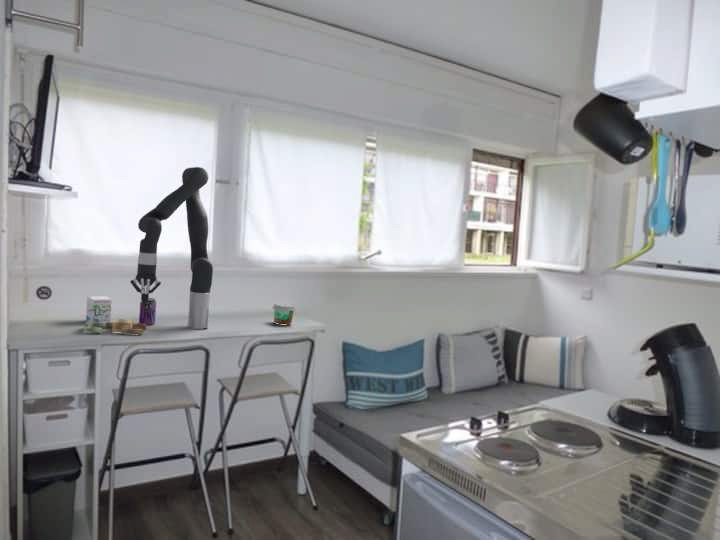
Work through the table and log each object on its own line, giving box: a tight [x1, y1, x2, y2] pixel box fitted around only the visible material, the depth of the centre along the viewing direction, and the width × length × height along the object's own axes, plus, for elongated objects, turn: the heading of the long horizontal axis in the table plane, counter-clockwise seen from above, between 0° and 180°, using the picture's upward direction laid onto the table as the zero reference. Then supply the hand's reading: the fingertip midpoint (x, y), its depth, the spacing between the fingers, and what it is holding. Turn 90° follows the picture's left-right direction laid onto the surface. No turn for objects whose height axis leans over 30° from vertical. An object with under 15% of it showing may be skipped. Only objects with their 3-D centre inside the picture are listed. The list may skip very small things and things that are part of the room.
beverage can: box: [138, 297, 157, 326], centre depth 248 cm, size 7×7×12 cm
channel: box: [83, 319, 148, 336], centre depth 229 cm, size 23×12×4 cm, turn 105°
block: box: [111, 318, 134, 333], centre depth 230 cm, size 7×7×5 cm
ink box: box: [85, 295, 113, 323], centre depth 242 cm, size 8×8×12 cm
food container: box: [272, 302, 296, 324], centre depth 276 cm, size 12×6×10 cm, turn 68°
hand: (144, 302), depth 231 cm, fingers closed
